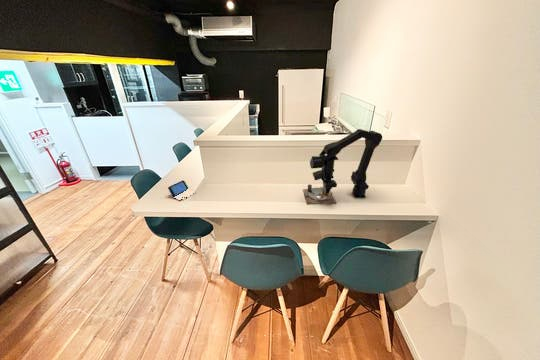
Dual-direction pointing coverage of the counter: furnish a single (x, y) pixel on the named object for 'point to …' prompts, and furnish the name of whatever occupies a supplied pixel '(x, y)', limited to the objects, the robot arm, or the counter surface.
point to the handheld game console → (178, 188)
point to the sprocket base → (311, 201)
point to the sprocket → (317, 194)
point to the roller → (324, 191)
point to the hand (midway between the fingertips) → (325, 191)
